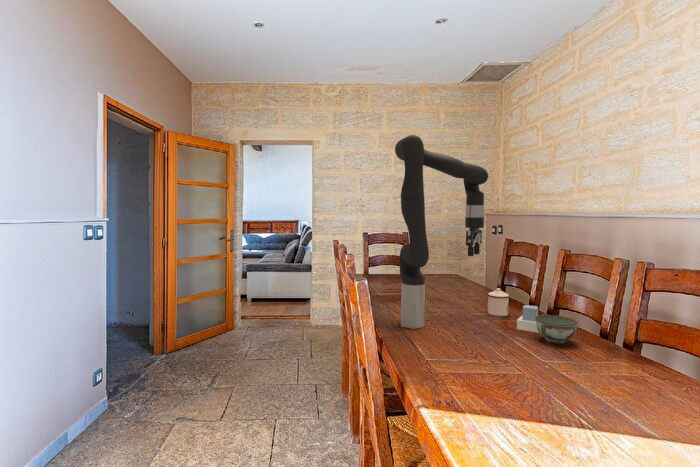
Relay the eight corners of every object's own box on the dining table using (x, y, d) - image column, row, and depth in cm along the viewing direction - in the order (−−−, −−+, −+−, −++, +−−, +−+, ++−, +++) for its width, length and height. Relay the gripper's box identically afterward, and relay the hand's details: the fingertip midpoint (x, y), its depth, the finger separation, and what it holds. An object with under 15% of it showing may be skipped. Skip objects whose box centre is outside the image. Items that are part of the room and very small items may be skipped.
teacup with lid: (511, 316, 170) (512, 290, 170) (491, 316, 171) (491, 290, 170) (502, 310, 182) (502, 285, 182) (482, 309, 183) (483, 285, 182)
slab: (538, 333, 147) (539, 323, 147) (516, 329, 152) (517, 319, 152) (542, 328, 154) (543, 319, 154) (521, 325, 158) (521, 315, 158)
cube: (536, 321, 149) (536, 309, 149) (522, 319, 152) (522, 307, 152) (537, 318, 154) (538, 306, 153) (524, 317, 156) (524, 304, 156)
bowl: (583, 349, 129) (584, 326, 129) (540, 346, 132) (541, 323, 132) (569, 336, 143) (569, 315, 142) (530, 334, 145) (530, 313, 145)
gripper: (470, 216, 168) (469, 253, 168) (460, 216, 156) (459, 256, 157) (488, 216, 163) (487, 254, 164) (478, 216, 152) (477, 257, 152)
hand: (473, 255), depth 160 cm, fingers open, 8 cm apart
